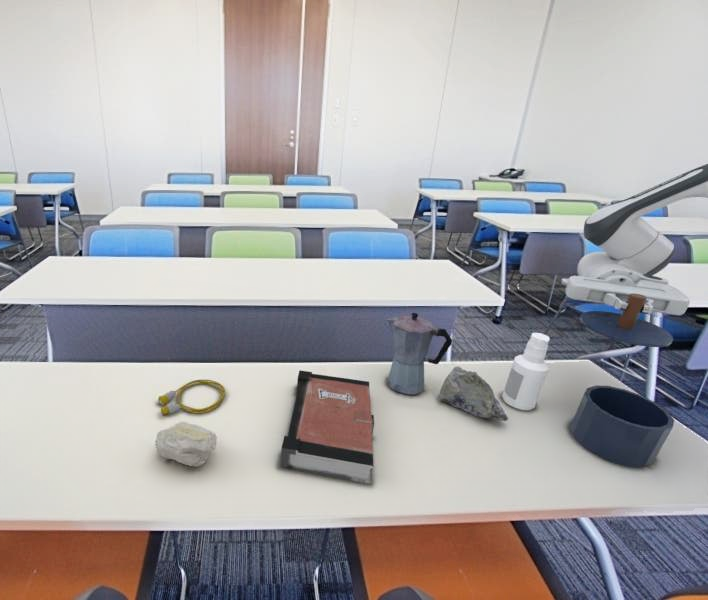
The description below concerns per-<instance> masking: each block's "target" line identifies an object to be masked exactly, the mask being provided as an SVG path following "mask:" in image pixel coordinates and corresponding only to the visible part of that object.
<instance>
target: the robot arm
mask: <svg viewBox="0 0 708 600" xmlns="http://www.w3.org/2000/svg"><path fill="white" fill-rule="evenodd" d="M690 198H707V199H708V163H706V164H702V165H701V166H698V167H696V168H693V169H691V170H688V171H686V172H684V173H682V174H679V175H677V176H675V177H673V178H670V179H668V180H666V181H663V182H661V183H659V184H657V185H655V186H651V187H650V188H648V189H645V190H643V191H641V192H639V193H636V194H635V195H632V196H630V197H628V198H625V199H623V200H619V201H617V202H614V203H611V204H608V205H605V206H603V207H601V208H599V209H598V210H596V211H594V212H593V213H592V214H590V215H589V216H588V217H587V218H586V219H585V221H584V225H583V238H584V239H586V240H587V241H588V242H590V243H591V244H593V245H594V246H596V247H598V248H599V249H601V250H602V251H593V252H589V253H587V254H585V255H583V257H581V258H580V260H579V262H578V263H577V267H576V272H577V275H571V276H570V277H567V278H562V279H561V284H562V285H563V286H565V290H564V292H565V295H566V297H567V298H569V299H571V300H574V301H582V302H588V303H594V304H601V305H602V304H603V305H606V306H610V307H614V309H615V310H619V311H623V310H626V309H627V308H626V307H627V306H628V302H627V300H628V298H629V295H630V294H631V293H635V294H640V295H644V296H646V297H647V299H646V301H645V303H644V305H643V308H642V310H641V312H640V314H644V315H651V314H652V312H653V313H660V314H666V315H673V316H682V315H684V314H685V313H686V311H687V309H688V308H689V306H690V302H691V300H690V298H689V297H688V296H687V295H686V294H685V293H683V292H682V291H681V290H680V289H678V288H677V287H675V286H673V285H670V284H669V280H667V279H666V278H663V277H659V276H655V275H656V274H658V273H659V272H661V271H662V270H664V269H665V268H667V266H668V265H669V264H670V262H671V261H672V259H673V256H674V254H675V251H676V250H675V248H676V247H675V243H673V242H672V241H671V240H670V239H668V237H666V236H665V235H664V234H662V233H661V232H660V231H659V230H657V229H656V228H654V227H653V226H652V225H651V224H650V223H648V222H647V221H646V220H645V219H644V218H642V217H643V216H646V215H648V214H650V213H652V212H654V211H657V210H660V209H662V208H665V207H666V206H669V205H671V204H674V203H677V202H679V201H681V200H685V199H690Z"/></svg>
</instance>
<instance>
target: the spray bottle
mask: <svg viewBox="0 0 708 600" xmlns="http://www.w3.org/2000/svg"><path fill="white" fill-rule="evenodd" d="M550 338H551V337H550V336H549V335H546V334H544V333H539V332H532V333H531V335H530V338H529V340H528V341H527V344H526V346H525V349H524V351H523V354H518V355H516V356H515V357H514V358H513V361H512V365H511V368H510V371H509V372H508V373H509V374H508V377H507V380H506V383H505V386H504V389H503V392H502V394H501V397H502V400H503V401H504V402H505V403H506V404H507V405H508V406H510V407H513V408H515V409H518V410H522V411H531V410H533V409H535V408H536V405H537V402H538V399H539V396H540V395H541V391H542V389H543V387H544V384H545V381H546V378H547V375H548V372H549V369H550V366H549V364H548V363H547V362H546V361H545V359H546V355H547V351H548V349H549V342H550Z"/></svg>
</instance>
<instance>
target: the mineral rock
mask: <svg viewBox="0 0 708 600" xmlns="http://www.w3.org/2000/svg"><path fill="white" fill-rule="evenodd" d="M438 399H439V400H440V401H441V402H445V403H448V404H449V405H452V407H454V408H458V409H461V410H463V412H466V413H470V414H471V415H474V416H475V417H478V418H484V419H493V420H498V421H502V422H507V421H509V417H508V415H507V413H506V412H505V410H504V408H503V407H502V406H501V403H500V401H499V400H498V399H497V398H496V396H495V394H494V390H493V388H492V387H491V385H490V384H489V383H487V381H486V380H485V379H483V378H482V377H481V376H480V375H479V374H478V373H477V371H471V370H469V371H468V370H465V369H463V368H462V367H460V366H459V365H458V366H454V367H453V369H452V370H451V371H450V372H449V374H448V375H447V376H446V378H445V379H444V380H443V384H442V386H441V387H440V389H439V393H438Z"/></svg>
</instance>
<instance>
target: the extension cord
mask: <svg viewBox="0 0 708 600" xmlns="http://www.w3.org/2000/svg"><path fill="white" fill-rule="evenodd" d="M197 385H208V386H211V387H214V388H216V389H217V390H219V392H220V393H221V397H220V398H219V400H217V401H216V402H214V403H213V404H211V405H209V406H206V407H203V408H193V407H191V406H187V405H185V404H182V402H181V396H182V394H183V392H184V391H185V390H187V389H189V388H191V387H193V386H197ZM177 392H179V393H178V398H177V402H176V403H172V404H169V405H166V406H165V404H167V403H169V402H170V401H171V400H172V399H173V398H174V397H175V396H176V393H177ZM225 395H226V388H225V387H224V386H223V385H222V384H221V383H220V382H218V381H215V380H211V379H196V380H195V379H194V380H192V381H189V382H187V383H185V384H183V385H182V386H181V387H179V388H178V389H175V390H169V392H166V393H165V394H163V395H160V396H158V399H157V401H158V403H159V404H160V405H161V406H164V407H161V408H160V413H161V415H162V416H165V415H167V414H168V415H170V414H172V413H175V412H176V411H179V410H180V409H183V410H184V411H187V412H189V413H192V414H205V413H208V412H211V411H213V410H215V409H216V408H217V407H218V406H219V405H221V403H222V401H223V400H224V397H225Z"/></svg>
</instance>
